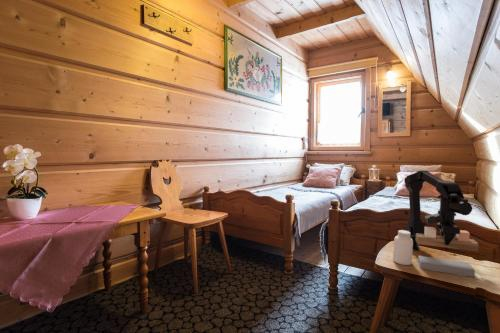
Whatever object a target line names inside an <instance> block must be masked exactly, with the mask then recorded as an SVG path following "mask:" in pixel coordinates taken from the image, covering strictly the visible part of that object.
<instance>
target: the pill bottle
mask: <svg viewBox="0 0 500 333" xmlns="http://www.w3.org/2000/svg"><path fill="white" fill-rule="evenodd" d="M410 236H411V233H410V232H409V231H405V229H399V230H398V231H397V235H396V236H395V237H394V240H393V251H392V260H393V262H394V263H396V264H397V265H398V264H399V265H403V266H410V265H412V263H413V262H412V261H413V250H414V249H413V240H412V238H410Z"/></svg>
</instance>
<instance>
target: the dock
mask: <svg viewBox="0 0 500 333" xmlns="http://www.w3.org/2000/svg"><path fill="white" fill-rule="evenodd" d="M417 263H418V266H419V269H420V270H421V269H422V270H427V271H429V270H430V271H433V272H439V273H440V272H441V273H445V274H453V275H459V276H465V277H471V278H472V277H473V278H474V277H475V269H474V268H473V267H472V265H471V264H470V263H469V262H463V261H459V260H451V259H443V258H438V257H437V258H436V257H430V256H423V255H418V256H417Z"/></svg>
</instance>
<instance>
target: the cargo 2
mask: <svg viewBox="0 0 500 333" xmlns="http://www.w3.org/2000/svg"><path fill="white" fill-rule="evenodd" d="M470 235H471V234H470V232H469V231H467V230H462V229H460V234H456V235H455V238H456V239H457V240H458V241H464V242H469V239H470Z"/></svg>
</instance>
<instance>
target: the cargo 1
mask: <svg viewBox="0 0 500 333" xmlns="http://www.w3.org/2000/svg"><path fill="white" fill-rule="evenodd" d="M424 235H425V237H429V238H436V236H437V228H436V227H433V226H425V229H424Z"/></svg>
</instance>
